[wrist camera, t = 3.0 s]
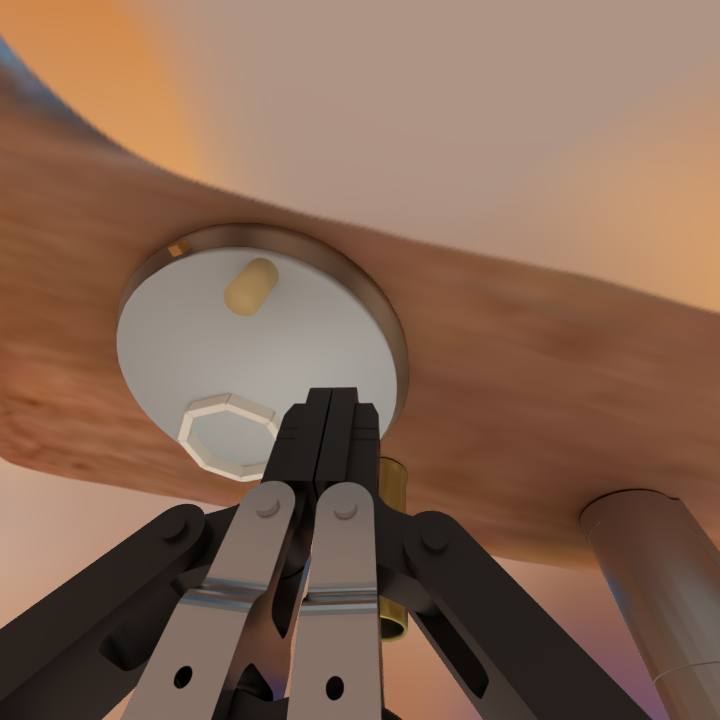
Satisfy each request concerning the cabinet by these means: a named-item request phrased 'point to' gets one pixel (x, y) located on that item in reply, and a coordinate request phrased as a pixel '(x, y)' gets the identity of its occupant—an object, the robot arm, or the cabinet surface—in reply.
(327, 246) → the turntable base
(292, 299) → the turntable
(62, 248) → the cabinet surface
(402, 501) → the vase
